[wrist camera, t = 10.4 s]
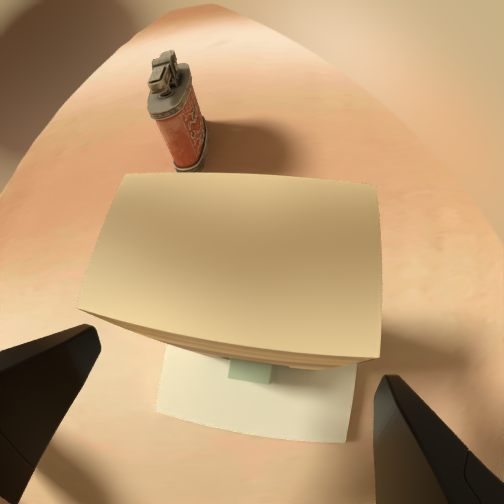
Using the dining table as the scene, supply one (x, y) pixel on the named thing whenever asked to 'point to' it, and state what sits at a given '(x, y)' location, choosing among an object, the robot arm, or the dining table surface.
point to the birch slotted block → (243, 267)
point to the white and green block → (257, 396)
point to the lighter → (178, 113)
